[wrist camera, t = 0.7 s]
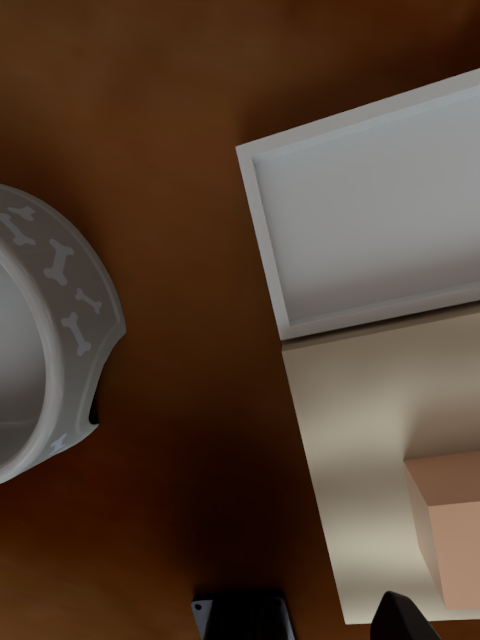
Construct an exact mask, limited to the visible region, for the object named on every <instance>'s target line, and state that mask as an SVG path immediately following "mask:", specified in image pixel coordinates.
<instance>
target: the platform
mask: <svg viewBox="0 0 480 640" xmlns="http://www.w3.org/2000/svg"><path fill="white" fill-rule="evenodd" d="M282 356H283V360H284V364H285V368H286V373H287V377H288V381H289V385H290V390H291V394H292V398H293V402H294V407H295V411H296V415H297V420H298V424H299V428H300V432H301V437H302V441H303V445H304V449H305V454H306V458H307V462H308V466H309V471H310V475H311V479H312V483H313V488H314V492H315V496H316V500H317V505H318V509H319V513H320V517H321V522H322V526H323V530H324V534H325V539H326V543H327V547H328V551H329V556H330V560H331V564H332V568H333V573H334V577H335V581H336V585H337V590H338V594H339V598H340V602H341V607H342V611H343V615H344V619H345V624H364V623H372V620H373V618H374V615H375V613H376V611H377V608H378V606H379V604H380V602H381V599H382V597H383V595H384V593H385V592H386V591H393V592H396V593H399V594H402V595H404V596H407V597H409V598H410V599H411V600H412V601H413V602H414V603H415V605H416V606H417V607H418V609H419V610H420V611H421V613H422V614H423V615H424V617H425V618H426V619H427V621H437V620H462V619H480V608H479V609H457V610H446V609H445V606H444V604H443V602H442V600H441V597H440V595H439V593H438V590H437V588H436V586H435V584H434V581H433V579H432V577H431V574H430V572H429V570H428V568H427V565H426V563H425V561H424V558H423V556H422V554H421V552H420V549H419V545H418V540H417V534H416V529H415V523H414V518H413V512H412V507H411V502H410V496H409V491H408V485H407V480H406V474H405V469H404V463H403V460H411V459H419V458H427V457H435V456H443V455H451V454H459V453H467V452H475V451H480V300H477V301H472V302H467V303H462V304H457V305H453V306H448V307H443V308H438V309H433V310H428V311H423V312H418V313H413V314H408V315H403V316H398V317H394V318H389V319H384V320H379V321H374V322H369V323H364V324H359V325H354V326H349V327H344V328H339V329H334V330H330V331H325V332H320V333H315V334H310V335H305V336H300V337H295V338H290V339H285V340H282Z"/></svg>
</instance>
